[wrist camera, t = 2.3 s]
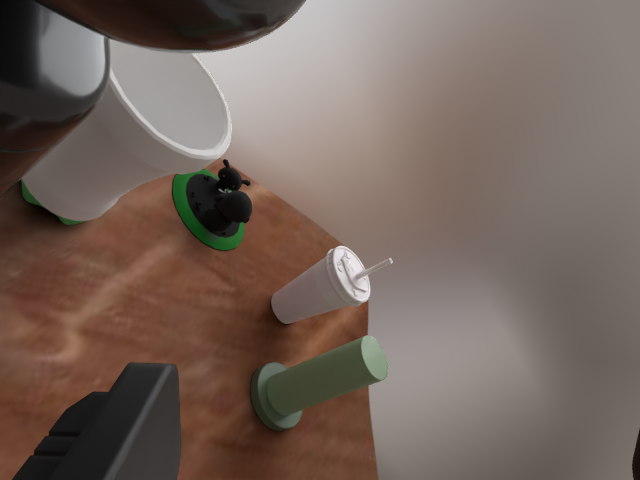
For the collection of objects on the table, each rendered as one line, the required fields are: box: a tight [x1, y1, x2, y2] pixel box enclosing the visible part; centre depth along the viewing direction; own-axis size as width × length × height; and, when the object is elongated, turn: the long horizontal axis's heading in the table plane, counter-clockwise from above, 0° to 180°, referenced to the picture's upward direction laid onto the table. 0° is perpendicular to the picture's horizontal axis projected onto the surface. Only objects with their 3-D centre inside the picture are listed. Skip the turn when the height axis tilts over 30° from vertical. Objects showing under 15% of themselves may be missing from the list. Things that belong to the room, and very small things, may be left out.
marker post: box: [251, 336, 388, 431], centre depth 51 cm, size 6×6×12 cm
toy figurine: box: [173, 159, 252, 251], centre depth 57 cm, size 10×10×6 cm
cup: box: [21, 39, 232, 225], centre depth 41 cm, size 11×11×14 cm
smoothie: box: [271, 246, 393, 324], centre depth 58 cm, size 6×6×14 cm
